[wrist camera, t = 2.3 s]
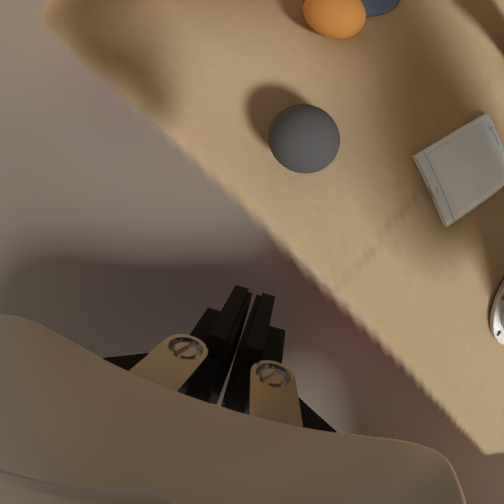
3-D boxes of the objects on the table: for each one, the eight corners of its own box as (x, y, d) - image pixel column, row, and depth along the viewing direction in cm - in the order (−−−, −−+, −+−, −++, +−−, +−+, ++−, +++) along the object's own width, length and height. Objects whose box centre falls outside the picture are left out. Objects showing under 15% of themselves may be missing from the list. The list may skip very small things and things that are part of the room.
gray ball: (341, 122, 24) (352, 108, 18) (326, 181, 26) (334, 182, 20) (280, 106, 24) (275, 88, 19) (265, 164, 26) (256, 161, 20)
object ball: (363, 14, 20) (373, -14, 14) (355, 55, 22) (368, 29, 16) (308, 0, 20) (308, -31, 15) (297, 40, 22) (296, 10, 16)
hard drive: (488, 112, 19) (415, 155, 23) (515, 178, 20) (448, 229, 24) (481, 114, 21) (409, 156, 24) (507, 177, 22) (441, 226, 25)
